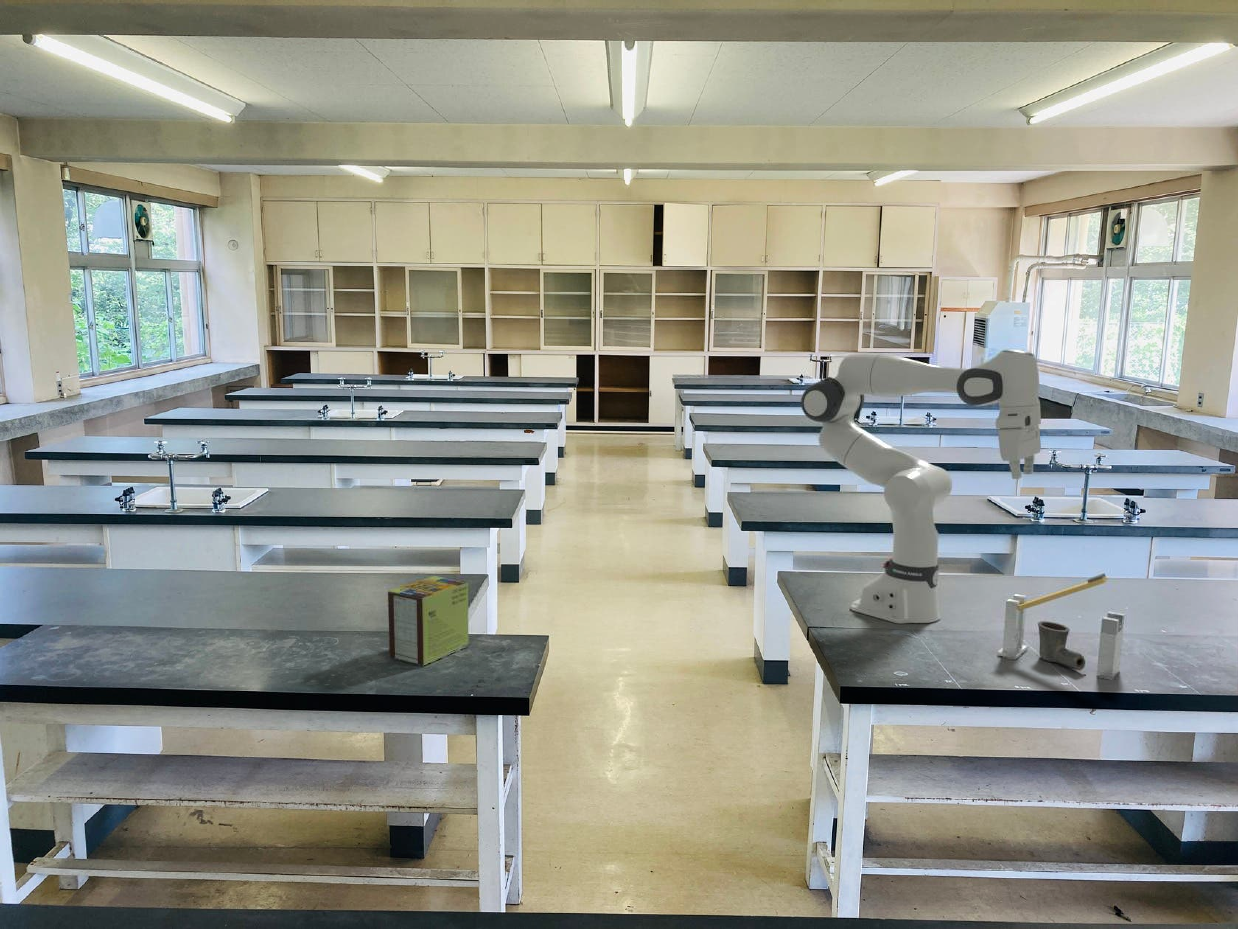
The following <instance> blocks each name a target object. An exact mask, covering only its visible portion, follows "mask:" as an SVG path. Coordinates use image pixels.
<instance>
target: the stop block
mask: <svg viewBox="0 0 1238 929" xmlns="http://www.w3.org/2000/svg"><path fill="white" fill-rule="evenodd" d="M1124 623H1125V613H1121V612H1115V611H1110V610H1109V611H1108V612H1107V616H1103V617H1102V618H1101V626H1100V636H1099V646H1098V657H1097V670H1096V677H1097V678H1101V679H1106V680H1110V681H1113V680H1114V678H1115V677H1116V676H1117V674H1119V672H1120V668H1121V667H1120V666H1121V657H1122V649H1123V648H1122V646H1123V634H1124Z"/></svg>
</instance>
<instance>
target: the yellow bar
mask: <svg viewBox="0 0 1238 929" xmlns="http://www.w3.org/2000/svg"><path fill="white" fill-rule="evenodd" d="M1106 582H1108V577H1107V576H1106V574H1105V573H1102V574H1098V575H1095V576H1092V577H1090V578H1088V579H1087V580H1086V582H1083V583H1080V584H1077V585H1074V586H1071V587H1068V588H1065V589H1062V590H1059V591H1055V592H1053V593H1050V594H1047V595H1044V596H1040V597H1038V598H1035V599H1032V600H1029V601H1026V602H1025V603H1022V604H1019V611H1020V610H1023V609H1029V608H1032V607H1035V606H1038V605H1042V604H1045V603H1047V602H1050V601H1053V600H1054V601H1055V600H1057V599H1060V598H1063V597H1066V596H1069V595H1072V594H1075V593H1078V592H1081V591H1084V590H1087V589H1090V588H1093V587H1096V586H1099V585H1102V584H1106Z"/></svg>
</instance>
